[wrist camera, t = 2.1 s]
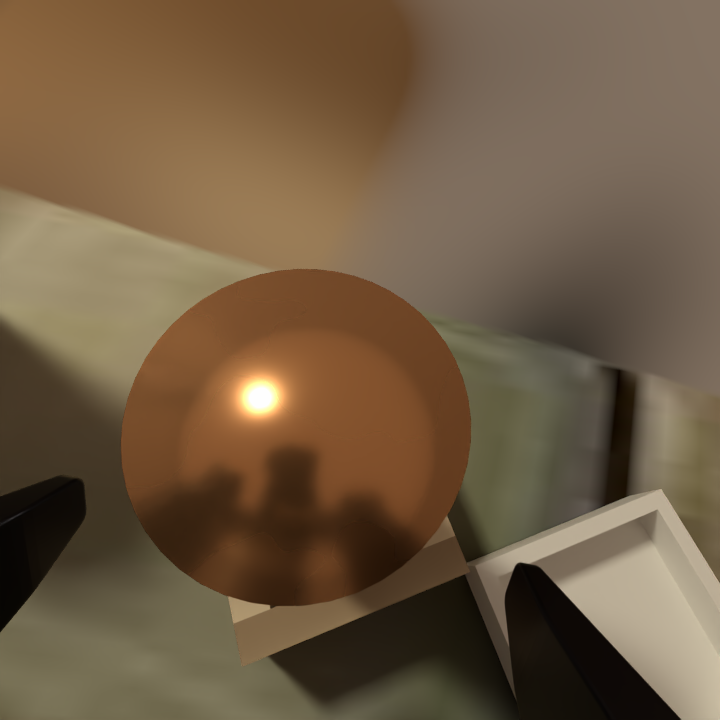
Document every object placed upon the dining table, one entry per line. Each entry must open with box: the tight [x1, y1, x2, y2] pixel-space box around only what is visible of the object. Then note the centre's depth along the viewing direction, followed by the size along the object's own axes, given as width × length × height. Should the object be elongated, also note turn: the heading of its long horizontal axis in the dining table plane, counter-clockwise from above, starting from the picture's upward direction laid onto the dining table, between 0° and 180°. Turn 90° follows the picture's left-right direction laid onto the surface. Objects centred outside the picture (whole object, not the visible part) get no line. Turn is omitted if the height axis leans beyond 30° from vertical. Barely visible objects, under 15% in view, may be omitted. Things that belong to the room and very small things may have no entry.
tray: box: [465, 489, 720, 720], centre depth 15 cm, size 8×8×2 cm
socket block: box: [228, 516, 470, 666], centre depth 17 cm, size 8×8×3 cm
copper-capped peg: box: [121, 269, 471, 606], centre depth 12 cm, size 5×5×13 cm
